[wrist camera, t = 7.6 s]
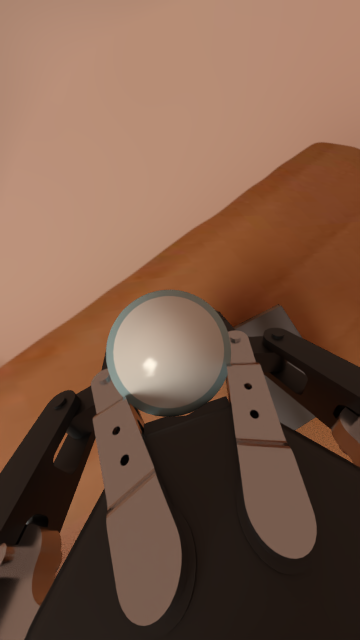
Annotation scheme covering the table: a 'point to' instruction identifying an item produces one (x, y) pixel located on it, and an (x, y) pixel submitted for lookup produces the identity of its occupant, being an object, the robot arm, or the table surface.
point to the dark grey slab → (283, 402)
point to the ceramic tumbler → (168, 353)
